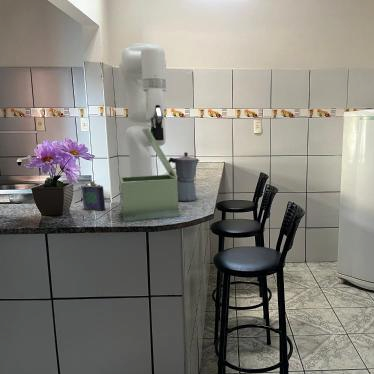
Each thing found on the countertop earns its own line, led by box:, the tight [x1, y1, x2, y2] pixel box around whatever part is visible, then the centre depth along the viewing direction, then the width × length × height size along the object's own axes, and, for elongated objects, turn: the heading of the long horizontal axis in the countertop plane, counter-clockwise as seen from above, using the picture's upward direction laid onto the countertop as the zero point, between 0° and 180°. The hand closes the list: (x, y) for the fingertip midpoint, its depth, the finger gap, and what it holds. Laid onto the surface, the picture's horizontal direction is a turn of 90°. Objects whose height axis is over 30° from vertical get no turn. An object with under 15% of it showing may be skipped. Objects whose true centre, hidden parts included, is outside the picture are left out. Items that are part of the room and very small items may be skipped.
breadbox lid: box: [142, 128, 178, 179], centre depth 125 cm, size 18×15×5 cm
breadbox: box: [119, 174, 180, 223], centre depth 125 cm, size 18×15×13 cm
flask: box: [81, 180, 106, 211], centre depth 136 cm, size 9×3×11 cm, turn 72°
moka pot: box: [167, 152, 200, 202], centre depth 151 cm, size 10×15×20 cm, turn 134°
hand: (157, 139), depth 124 cm, fingers closed on breadbox lid, 6 cm apart
